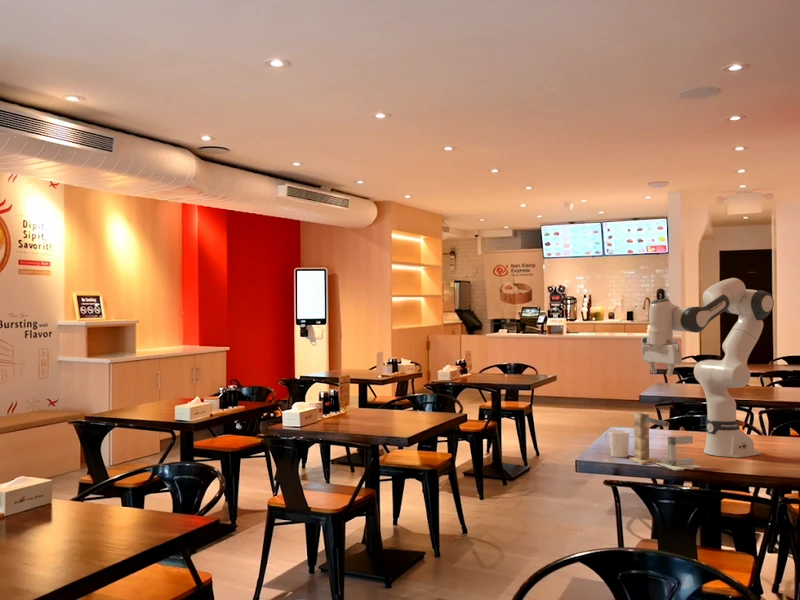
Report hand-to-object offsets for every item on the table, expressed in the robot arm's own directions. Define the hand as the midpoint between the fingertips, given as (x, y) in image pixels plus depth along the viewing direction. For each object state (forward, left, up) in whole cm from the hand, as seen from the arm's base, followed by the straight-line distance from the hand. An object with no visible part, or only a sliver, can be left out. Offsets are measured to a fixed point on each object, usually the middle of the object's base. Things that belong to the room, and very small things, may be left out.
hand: (661, 374), depth 285 cm
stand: (+6, +2, -35) cm, 35 cm away
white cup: (+9, -15, -35) cm, 39 cm away
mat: (-1, +9, -35) cm, 36 cm away
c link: (-2, +8, -34) cm, 35 cm away
